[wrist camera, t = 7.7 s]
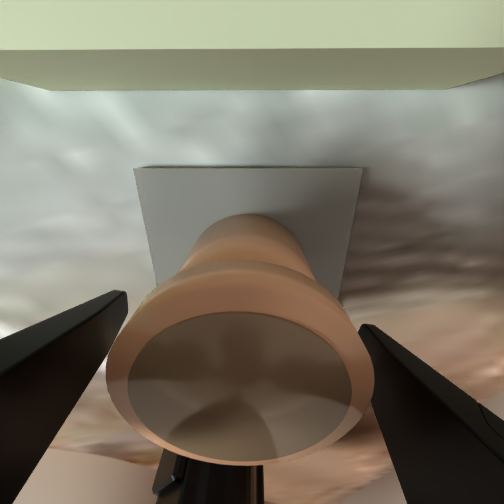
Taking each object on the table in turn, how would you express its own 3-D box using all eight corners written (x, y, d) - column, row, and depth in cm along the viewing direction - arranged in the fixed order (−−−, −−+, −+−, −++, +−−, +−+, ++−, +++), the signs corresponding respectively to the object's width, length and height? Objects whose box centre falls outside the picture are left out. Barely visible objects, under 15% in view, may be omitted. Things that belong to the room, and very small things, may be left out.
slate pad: (327, 333, 15) (330, 340, 14) (171, 332, 15) (168, 339, 14) (357, 167, 11) (362, 168, 10) (139, 167, 11) (133, 168, 10)
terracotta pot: (324, 211, 11) (421, 303, 5) (301, 323, 14) (341, 476, 7) (178, 200, 11) (69, 279, 4) (185, 316, 14) (125, 465, 7)
